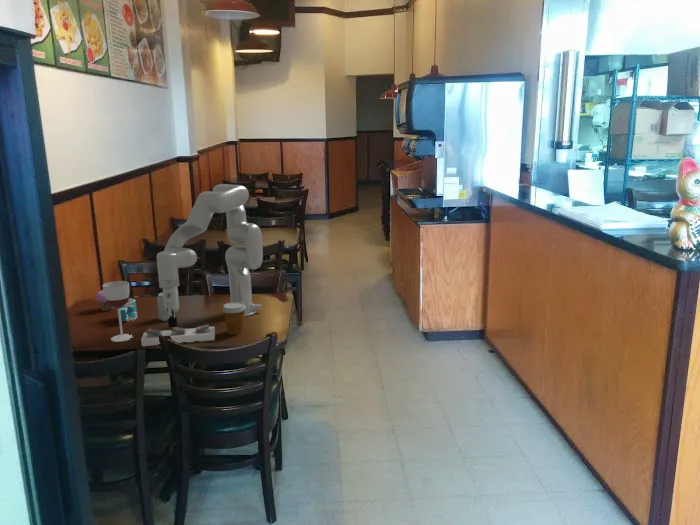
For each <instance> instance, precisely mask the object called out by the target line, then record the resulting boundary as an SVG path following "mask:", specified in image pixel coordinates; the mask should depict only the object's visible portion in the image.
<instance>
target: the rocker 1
mask: <svg viewBox="0 0 700 525" xmlns="http://www.w3.org/2000/svg"><path fill="white" fill-rule="evenodd" d="M161 331H162V330H161V329H153V328H152V329H151V328H147V330H146V332H147V333H146V334H152V335H160V333H161Z"/></svg>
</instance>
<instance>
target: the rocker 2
mask: <svg viewBox="0 0 700 525" xmlns="http://www.w3.org/2000/svg"><path fill="white" fill-rule="evenodd" d="M209 327H210V324H209V323H207V324H203V325H201V326H197V327H195V328H196V332H199V331H203V330H206V329H209Z"/></svg>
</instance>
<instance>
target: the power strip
mask: <svg viewBox="0 0 700 525" xmlns="http://www.w3.org/2000/svg"><path fill="white" fill-rule="evenodd" d="M215 330H216V327H215V326H209V329H206V330H203V331H199V332H196V327H194V328H185V332H184V333H177V332H171V331H172V329H169V330H161V333H160V335H162V336H170V337H171V339H172V340H173V341H175V342H177V343H176V344H183V343H182V342H187V343H195V342H194V341H199V342H207V341H209V342H211V341H215V340H216V339H215V338H216V331H215ZM146 333H147V331H145V332H143V334H142V336H141V339H140V342H141V347H149V346H150V347H151V346H152V347H153V346H159V345H158V344H160V342H159V336H160V335H152V334H146Z"/></svg>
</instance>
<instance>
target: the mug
mask: <svg viewBox="0 0 700 525" xmlns="http://www.w3.org/2000/svg"><path fill="white" fill-rule="evenodd" d="M116 309H117V311H118V308H116ZM137 311H138V310H137V301H136V299H135V298H129V300H128V302H127V303H126V304H125V305H124V306H122V307H120V314H121V322H122V321H127V322H131V321H130V320H132V321H135V320H136V318H137V319H138V312H137ZM117 317H118V320H119V316H118V315H117ZM134 319H135V320H134Z"/></svg>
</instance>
